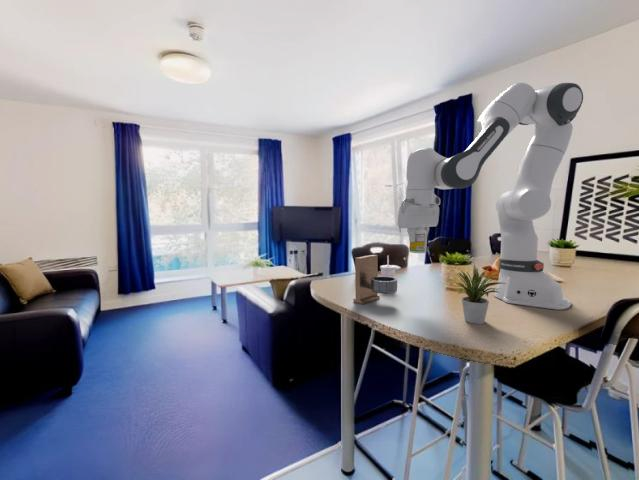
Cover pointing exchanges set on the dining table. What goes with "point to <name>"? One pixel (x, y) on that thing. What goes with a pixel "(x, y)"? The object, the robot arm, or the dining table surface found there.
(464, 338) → the dining table surface
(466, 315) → the house plant
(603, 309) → the dining table surface
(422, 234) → the supplement bottle
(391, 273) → the smoothie
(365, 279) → the cup bracket
